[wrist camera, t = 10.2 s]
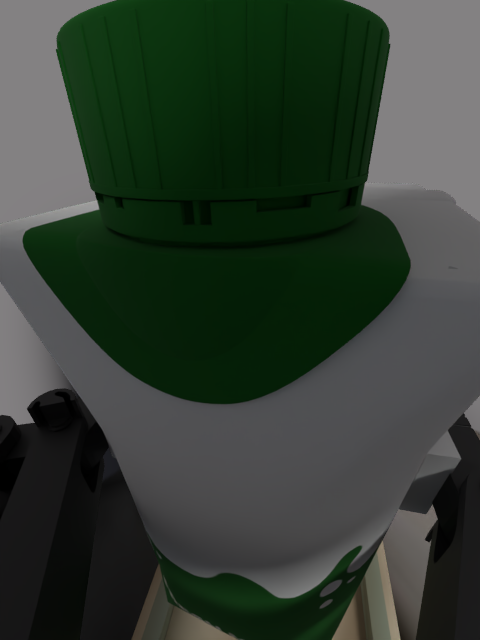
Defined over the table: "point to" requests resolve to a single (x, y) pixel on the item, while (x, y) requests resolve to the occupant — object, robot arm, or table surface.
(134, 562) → the table surface
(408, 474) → the milk carton
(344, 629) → the stool
